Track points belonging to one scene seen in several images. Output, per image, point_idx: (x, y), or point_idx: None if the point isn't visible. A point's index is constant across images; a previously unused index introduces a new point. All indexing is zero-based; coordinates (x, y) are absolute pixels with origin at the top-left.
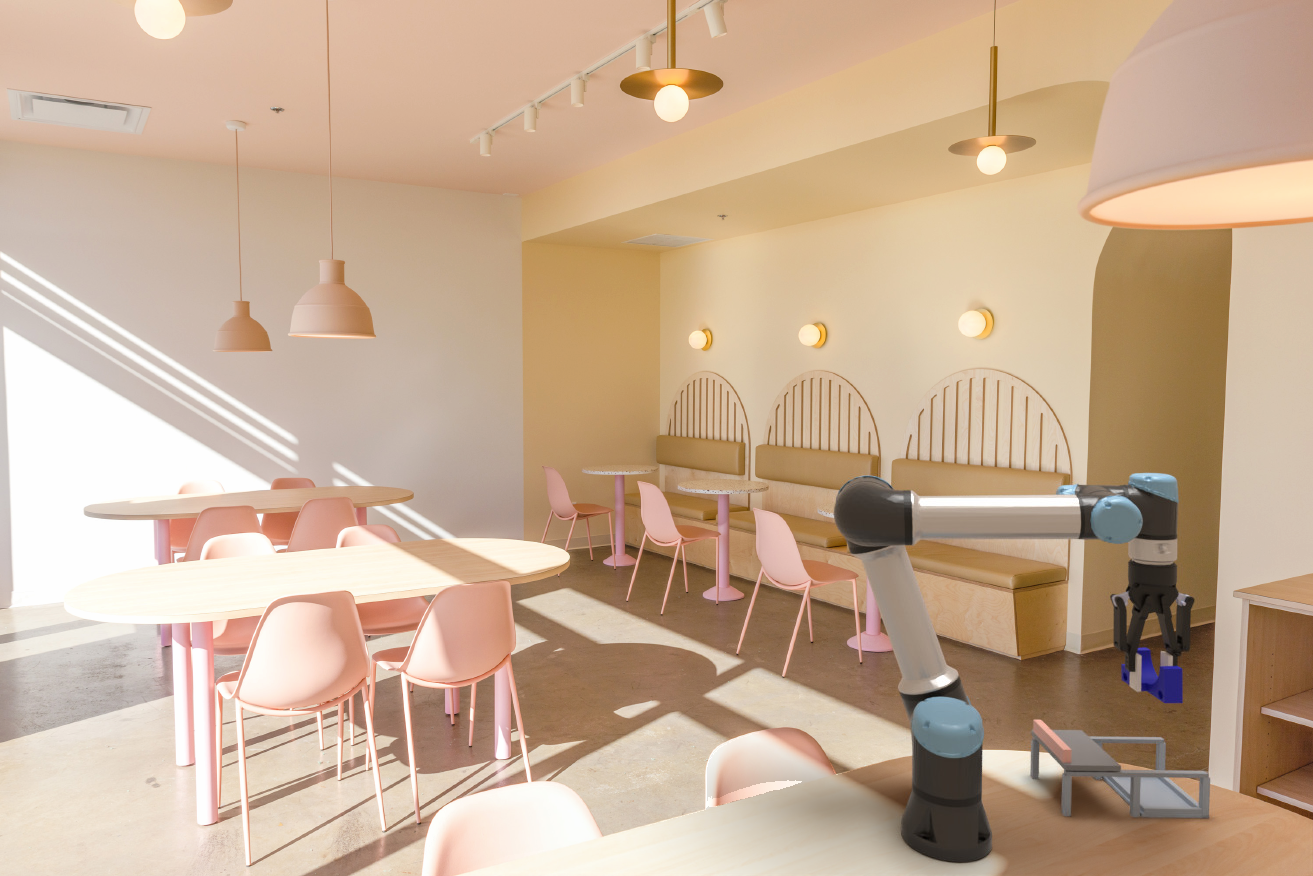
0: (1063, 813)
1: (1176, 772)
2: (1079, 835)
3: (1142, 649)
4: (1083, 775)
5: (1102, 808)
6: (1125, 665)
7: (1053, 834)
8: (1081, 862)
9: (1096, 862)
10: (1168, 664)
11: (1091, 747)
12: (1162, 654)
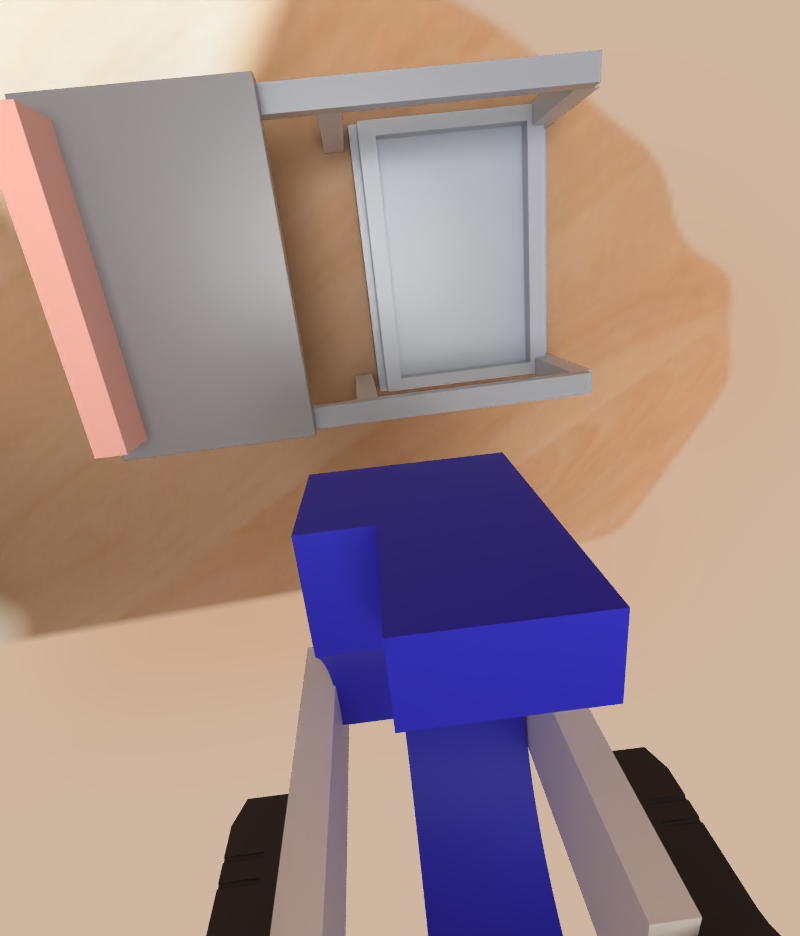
0: None
1: (496, 398)
2: (203, 499)
3: (533, 687)
4: None
5: None
6: (230, 851)
7: (142, 505)
8: (186, 601)
9: (217, 596)
10: (591, 916)
11: (251, 283)
12: (631, 920)
